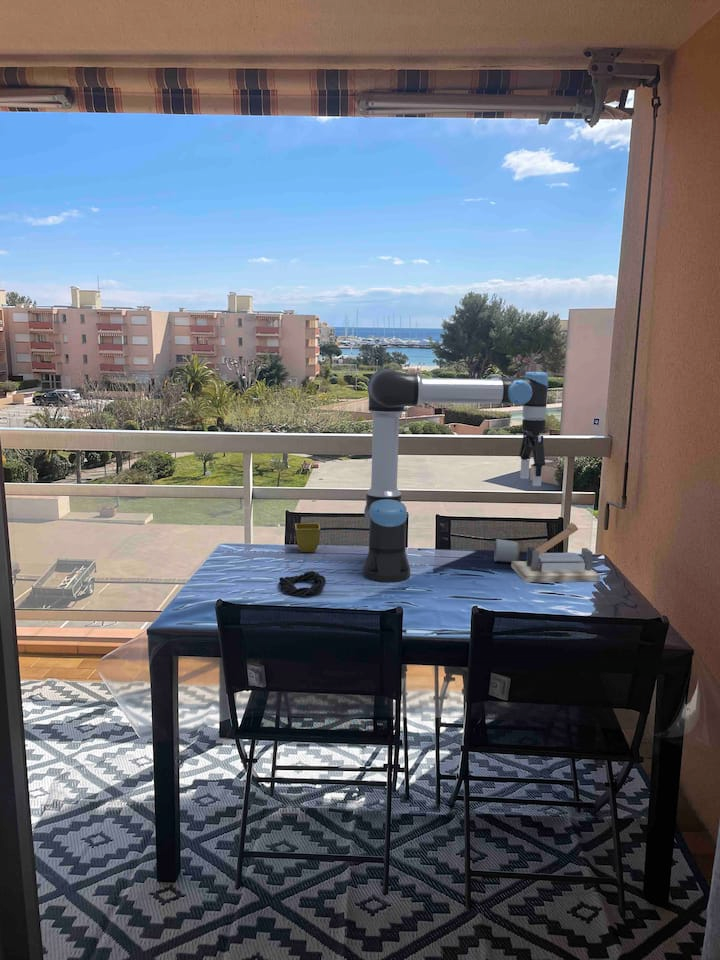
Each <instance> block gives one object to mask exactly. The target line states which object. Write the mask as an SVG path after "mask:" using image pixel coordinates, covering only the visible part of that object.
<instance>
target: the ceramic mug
mask: <svg viewBox="0 0 720 960" xmlns="http://www.w3.org/2000/svg"><path fill="white" fill-rule="evenodd" d="M493 550H494V551H493V552H494V553H493V560H494V562H498V561H499V562H502V563H511V562H512V561H519V557H520V550H521V549H520V543H519V542H518V541H515V540H507V539H499V538H496V539H495V542H494V549H493ZM499 562H498V563H499Z"/></svg>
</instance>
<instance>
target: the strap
mask: <svg viewBox="0 0 720 960" xmlns="http://www.w3.org/2000/svg"><path fill="white" fill-rule="evenodd" d="M566 527H567V528H566V529H564V530H563V531H560V532H559V533H558V534H556V535H555V536H553V537H552V538H551V539H549V540H548V541H546V542H545V543H543V544H542V545H540V546H539V547H536V549H535V548H534V551H539V555H541V554H542V553H546V552H547V551H548V550H550V549H551V548H553V547H554V546H556V545H558V544H559V543H561V542H562V541H563V540H565V539H567V538H568V537H570V536H571V535H573V534H574V533H576V532H577V531H578V530H579V528H578V526H577V525H576V524H575V523H573V522H570V523H568V525H566ZM530 554H531V555H532V551H531V552H530Z"/></svg>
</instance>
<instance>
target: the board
mask: <svg viewBox="0 0 720 960" xmlns="http://www.w3.org/2000/svg"><path fill="white" fill-rule="evenodd" d="M510 563H511V566H510V567H511V568H512V569H513V570H514V572H515V571H516V572H515V573H516V574H517V575H518V576H519V577H520V578H521V580H523V581H524V582H525V583H558V582H559V583H564V582H565V583H567V582H568V583H569V582H572V583H573V582H576V583H577V582H581V583H583V582H586V583H587V581H588V582H589V581H598V582H600V578H601V575H600V574H599V573H598V572H596V571H595V570H594V569H592V568H591V570H585V571H584V573H541V572H540V571H539V570H538V571H531V566H526V560H525V561H524V560H522V561H521V560H518V561H512V562H510ZM545 581H546V582H545Z"/></svg>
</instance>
